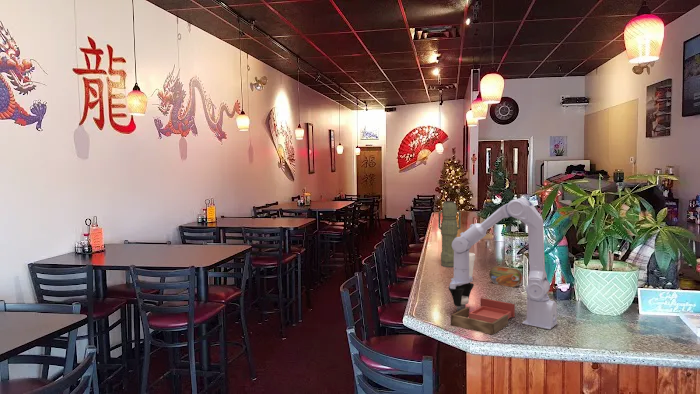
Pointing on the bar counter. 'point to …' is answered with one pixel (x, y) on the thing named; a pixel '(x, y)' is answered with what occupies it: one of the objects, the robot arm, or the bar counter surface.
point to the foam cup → (471, 263)
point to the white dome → (464, 299)
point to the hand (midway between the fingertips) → (461, 303)
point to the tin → (505, 276)
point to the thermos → (448, 232)
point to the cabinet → (477, 322)
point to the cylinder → (461, 307)
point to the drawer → (492, 310)
